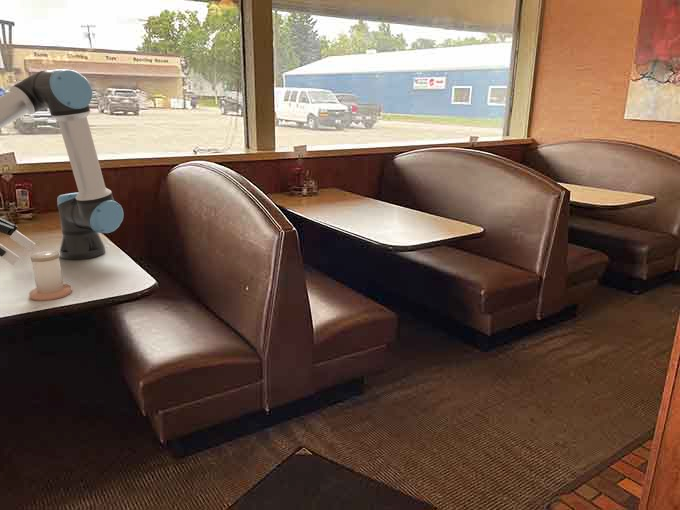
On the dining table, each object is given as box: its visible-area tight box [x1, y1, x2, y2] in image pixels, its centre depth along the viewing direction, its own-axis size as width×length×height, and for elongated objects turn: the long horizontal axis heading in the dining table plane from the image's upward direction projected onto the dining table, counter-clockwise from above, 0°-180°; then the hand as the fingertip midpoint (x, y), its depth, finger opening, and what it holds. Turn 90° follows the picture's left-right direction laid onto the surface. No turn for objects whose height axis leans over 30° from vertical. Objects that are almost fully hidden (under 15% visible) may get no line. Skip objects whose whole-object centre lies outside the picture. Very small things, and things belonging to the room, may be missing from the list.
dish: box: [28, 283, 73, 302], centre depth 153 cm, size 11×11×1 cm
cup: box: [30, 250, 64, 294], centre depth 152 cm, size 7×7×11 cm
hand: (25, 254), depth 148 cm, fingers open, 13 cm apart
